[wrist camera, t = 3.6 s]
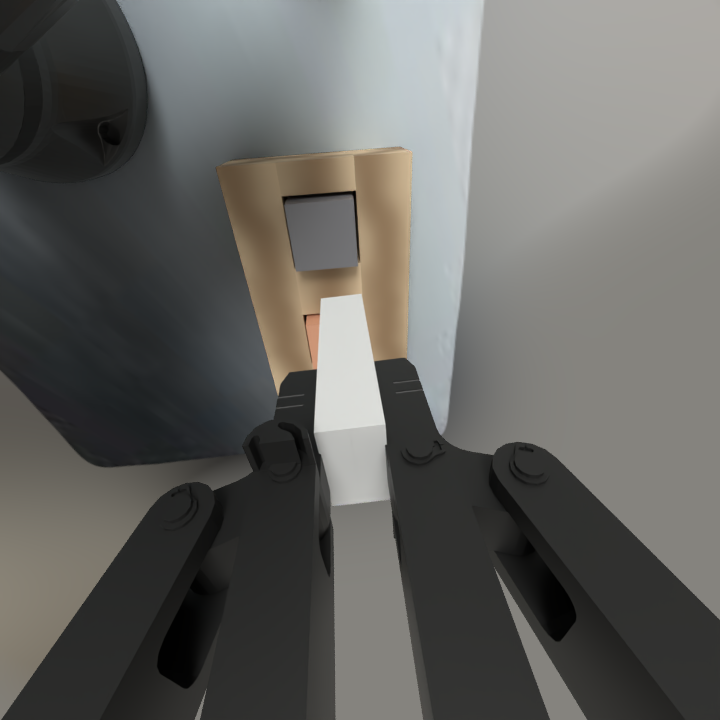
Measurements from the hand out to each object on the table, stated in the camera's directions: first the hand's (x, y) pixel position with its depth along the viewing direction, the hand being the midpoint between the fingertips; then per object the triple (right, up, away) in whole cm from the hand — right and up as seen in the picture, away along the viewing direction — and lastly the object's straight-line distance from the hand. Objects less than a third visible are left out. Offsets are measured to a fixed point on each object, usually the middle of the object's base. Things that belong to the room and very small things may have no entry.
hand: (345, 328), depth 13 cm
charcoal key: (-3, +10, +16) cm, 19 cm away
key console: (-2, +4, +24) cm, 24 cm away
